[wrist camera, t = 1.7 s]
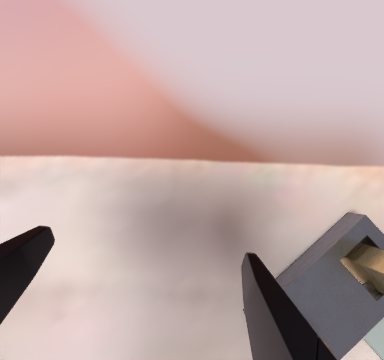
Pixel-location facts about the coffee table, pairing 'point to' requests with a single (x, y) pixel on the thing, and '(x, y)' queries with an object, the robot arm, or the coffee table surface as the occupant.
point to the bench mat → (376, 339)
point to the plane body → (336, 286)
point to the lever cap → (366, 265)
